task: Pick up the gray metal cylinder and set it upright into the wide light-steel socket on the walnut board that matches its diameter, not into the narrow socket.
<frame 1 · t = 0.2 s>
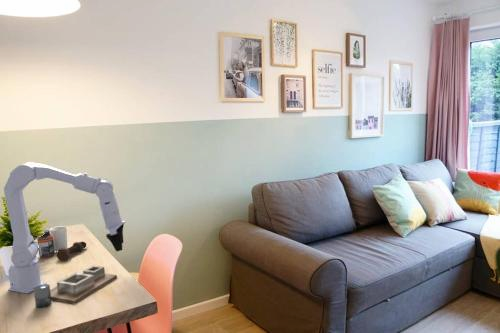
hand: (119, 247, 139), 11 cm above the table, tool pointing down, fingers open, 7 cm apart
supplement bottle: (47, 256, 162), on the table
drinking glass: (60, 249, 170), on the table
fitting board: (81, 287, 131), on the table
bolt: (74, 255, 163), on the table
gray metal cylinder: (43, 305, 119), on the table
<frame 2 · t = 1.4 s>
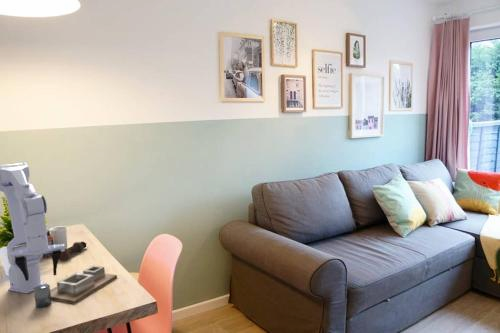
hand: (41, 276, 118), 9 cm above the table, tool pointing down, fingers open, 7 cm apart
nothing on the table moved.
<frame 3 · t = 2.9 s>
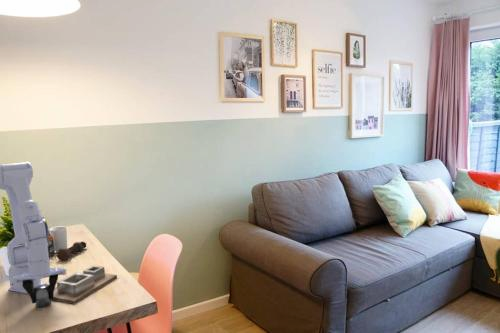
hand: (43, 299, 119), 2 cm above the table, tool pointing down, fingers closed on gray metal cylinder, 4 cm apart
gray metal cylinder: (43, 305, 119), on the table, touching gripper
everything else where it was.
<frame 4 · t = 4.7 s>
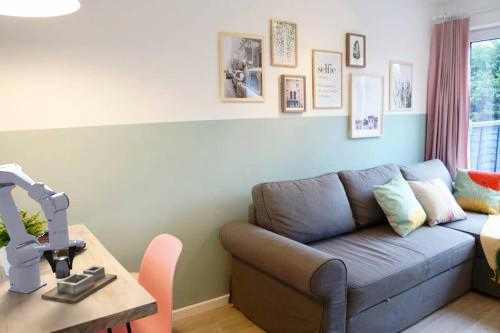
hand: (62, 270, 124), 9 cm above the table, tool pointing down, fingers closed on gray metal cylinder, 4 cm apart
gray metal cylinder: (63, 276, 124), point 7 cm above the table, touching gripper
everything else where it was.
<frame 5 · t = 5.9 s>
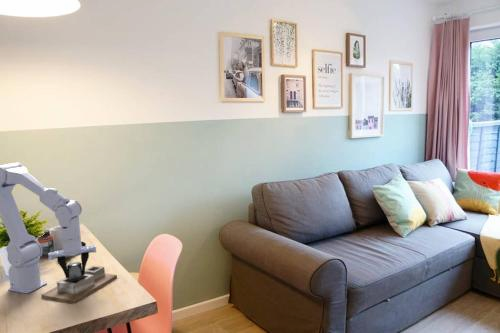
hand: (75, 275, 128), 5 cm above the table, tool pointing down, fingers closed on gray metal cylinder, 4 cm apart
gray metal cylinder: (75, 281, 128), point 3 cm above the table, touching gripper
everything else where it was.
when the fingers open (4 cm above the table, at t = 6.5 s): gray metal cylinder drops 1 cm, resting on fitting board.
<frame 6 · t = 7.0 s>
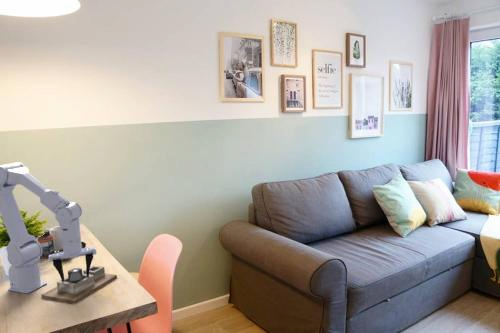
hand: (75, 277, 128), 4 cm above the table, tool pointing down, fingers open, 7 cm apart
gray metal cylinder: (76, 287, 129), point 1 cm above the table, touching fitting board
everything else where it was.
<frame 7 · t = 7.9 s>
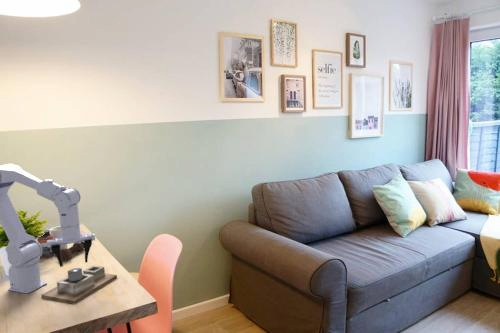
hand: (74, 263, 128), 9 cm above the table, tool pointing down, fingers open, 7 cm apart
nothing on the table moved.
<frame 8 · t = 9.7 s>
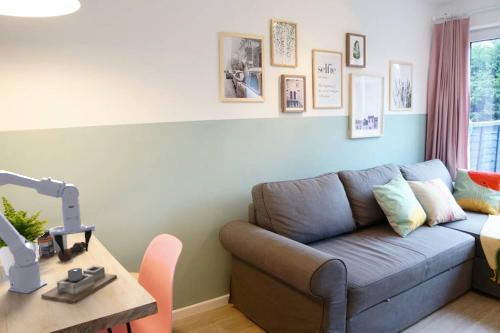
hand: (75, 252, 138), 9 cm above the table, tool pointing down, fingers open, 7 cm apart
nothing on the table moved.
at the end: gray metal cylinder 0.3 cm from the target spot on the fitting board, point 1.0 cm above the fitting board's base; gray metal cylinder tilted 0°; the gripper is holding nothing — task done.
